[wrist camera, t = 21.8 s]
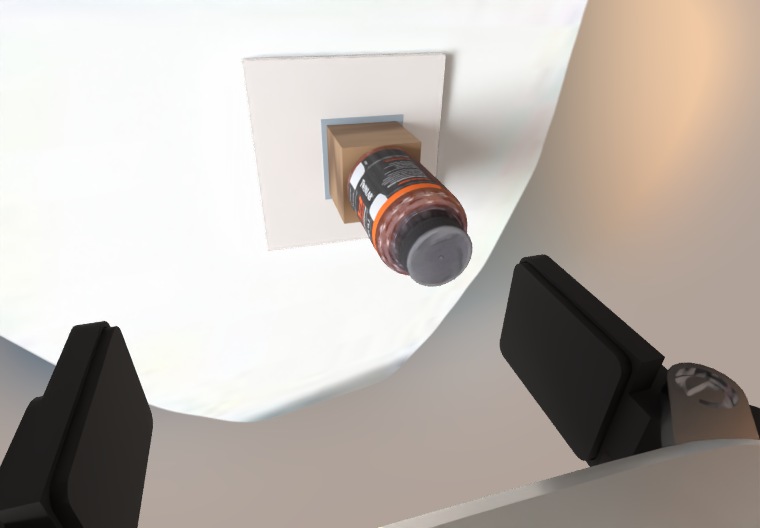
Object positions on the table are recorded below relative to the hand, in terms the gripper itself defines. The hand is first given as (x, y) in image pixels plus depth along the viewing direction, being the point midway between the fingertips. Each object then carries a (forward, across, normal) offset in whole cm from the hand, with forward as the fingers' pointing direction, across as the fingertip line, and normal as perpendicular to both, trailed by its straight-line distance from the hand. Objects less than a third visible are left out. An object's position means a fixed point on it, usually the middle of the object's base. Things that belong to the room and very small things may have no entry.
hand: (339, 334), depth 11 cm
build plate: (+30, -7, +6) cm, 32 cm away
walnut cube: (+29, -8, +6) cm, 31 cm away
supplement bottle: (+23, -8, +6) cm, 25 cm away
